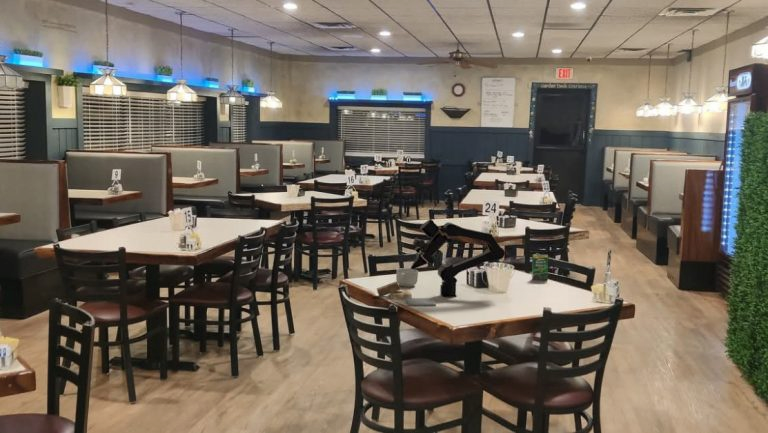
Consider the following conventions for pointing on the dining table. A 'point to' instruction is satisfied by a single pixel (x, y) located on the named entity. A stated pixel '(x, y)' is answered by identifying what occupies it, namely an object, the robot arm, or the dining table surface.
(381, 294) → the walnut block
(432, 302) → the grey mat
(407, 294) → the oak holder
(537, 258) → the coffee box
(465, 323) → the dining table surface
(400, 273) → the teacup
